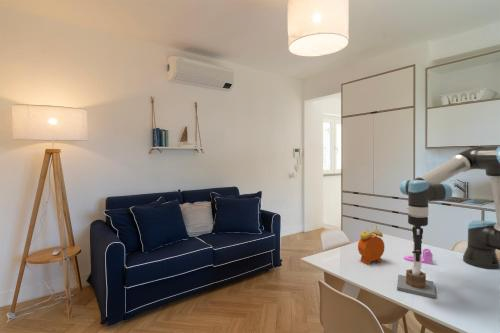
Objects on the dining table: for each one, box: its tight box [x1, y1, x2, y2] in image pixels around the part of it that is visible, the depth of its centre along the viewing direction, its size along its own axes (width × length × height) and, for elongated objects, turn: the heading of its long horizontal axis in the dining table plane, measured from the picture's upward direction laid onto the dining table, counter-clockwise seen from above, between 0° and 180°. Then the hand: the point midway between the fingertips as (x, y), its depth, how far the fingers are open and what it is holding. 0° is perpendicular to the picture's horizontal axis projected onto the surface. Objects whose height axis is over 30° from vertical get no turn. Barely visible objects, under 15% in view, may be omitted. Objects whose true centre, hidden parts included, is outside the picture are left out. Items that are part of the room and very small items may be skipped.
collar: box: [405, 268, 427, 288], centre depth 123 cm, size 7×7×5 cm
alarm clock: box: [357, 224, 385, 265], centre depth 152 cm, size 13×6×20 cm, turn 108°
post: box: [396, 264, 437, 300], centre depth 122 cm, size 14×14×10 cm
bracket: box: [403, 247, 434, 265], centre depth 153 cm, size 13×6×7 cm, turn 66°
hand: (417, 262), depth 122 cm, fingers open, 13 cm apart
